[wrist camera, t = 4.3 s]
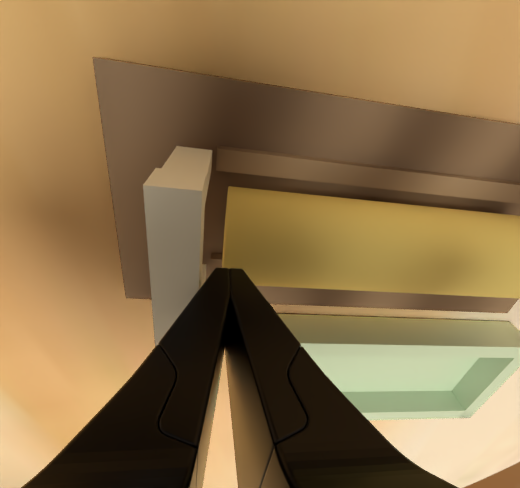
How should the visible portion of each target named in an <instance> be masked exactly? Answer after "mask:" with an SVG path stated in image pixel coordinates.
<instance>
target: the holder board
mask: <svg viewBox="0 0 520 488" xmlns="http://www.w3.org/2000/svg"><path fill="white" fill-rule="evenodd" d="M93 63H94V70H95V78H96V85H97V92H98V99H99V107H100V114H101V121H102V128H103V136H104V143H105V150H106V157H107V164H108V172H109V179H110V186H111V193H112V201H113V208H114V215H115V222H116V230H117V237H118V244H119V251H120V258H121V266H122V273H123V280H124V287H125V295H126V298H138V299H152V297H151V284H150V271H149V258H148V245H147V232H146V219H145V206H144V193H143V184H144V183H145V182H146V180H147V179H148V178H149V176H150V175H151V174H152V172H153V171H154V170H155V168H162V167H163V165H164V164H165V162H166V161H167V159H168V158H169V157H170V155H171V154H172V152H173V151H174V149H175V148H176V146H182V147H190V148H198V149H207V150H212V167H211V175H210V180H209V186H208V191H207V197H206V202H205V213H204V236H203V260H202V264H206V280H207V278H208V277H209V276H210V274H211V273H212V272H213V270H214V269H215V268H217V267H220V268H222V255H223V240H224V226H225V214H226V203H227V193H228V187H229V186H231V187H241V188H251V189H261V190H271V191H280V192H290V193H300V194H310V195H320V196H330V197H340V198H349V199H359V200H369V201H379V202H389V203H399V204H409V205H419V206H428V207H438V208H448V209H458V210H468V211H478V212H488V213H497V214H507V215H517V216H520V124H514V123H507V122H501V121H495V120H488V119H482V118H476V117H470V116H463V115H457V114H451V113H445V112H438V111H432V110H426V109H419V108H413V107H407V106H401V105H394V104H388V103H382V102H376V101H369V100H363V99H357V98H350V97H344V96H338V95H332V94H325V93H319V92H313V91H307V90H300V89H294V88H288V87H281V86H275V85H269V84H263V83H256V82H250V81H244V80H237V79H231V78H225V77H219V76H212V75H206V74H200V73H194V72H187V71H181V70H175V69H168V68H162V67H156V66H150V65H143V64H137V63H131V62H125V61H118V60H112V59H106V58H97V57H93ZM206 280H205V281H206ZM256 287H257V288H258V290H259V291H260V292H261V293H262V295H263V296H264V297H265V299H266V300H267V301H268V302H269V304H289V305H314V306H340V307H365V308H390V309H415V310H441V311H466V312H491V313H508V311H509V310H510V309H511V308H512V306H513V305H514V304H515V303H516V301H517V300H518V299H519V298H498V297H478V296H457V295H437V294H417V293H396V292H376V291H355V290H335V289H314V288H294V287H273V286H256Z"/></svg>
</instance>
